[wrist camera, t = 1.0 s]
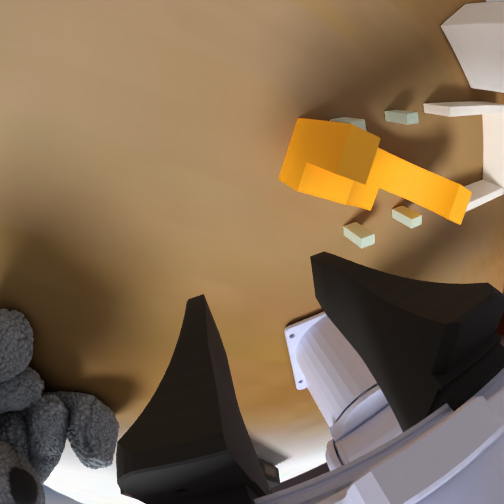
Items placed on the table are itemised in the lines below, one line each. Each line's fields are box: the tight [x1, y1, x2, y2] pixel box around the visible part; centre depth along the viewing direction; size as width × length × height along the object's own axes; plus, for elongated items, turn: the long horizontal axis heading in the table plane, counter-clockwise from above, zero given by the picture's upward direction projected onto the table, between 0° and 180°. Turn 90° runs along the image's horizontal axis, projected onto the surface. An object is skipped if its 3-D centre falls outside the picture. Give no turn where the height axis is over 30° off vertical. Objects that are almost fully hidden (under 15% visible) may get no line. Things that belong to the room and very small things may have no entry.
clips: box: [384, 110, 422, 228], centre depth 21 cm, size 9×1×2 cm, turn 13°
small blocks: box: [330, 117, 375, 248], centre depth 20 cm, size 9×1×2 cm, turn 13°
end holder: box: [423, 101, 504, 212], centre depth 22 cm, size 10×11×3 cm
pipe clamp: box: [278, 118, 472, 225], centre depth 19 cm, size 12×4×6 cm, turn 73°
